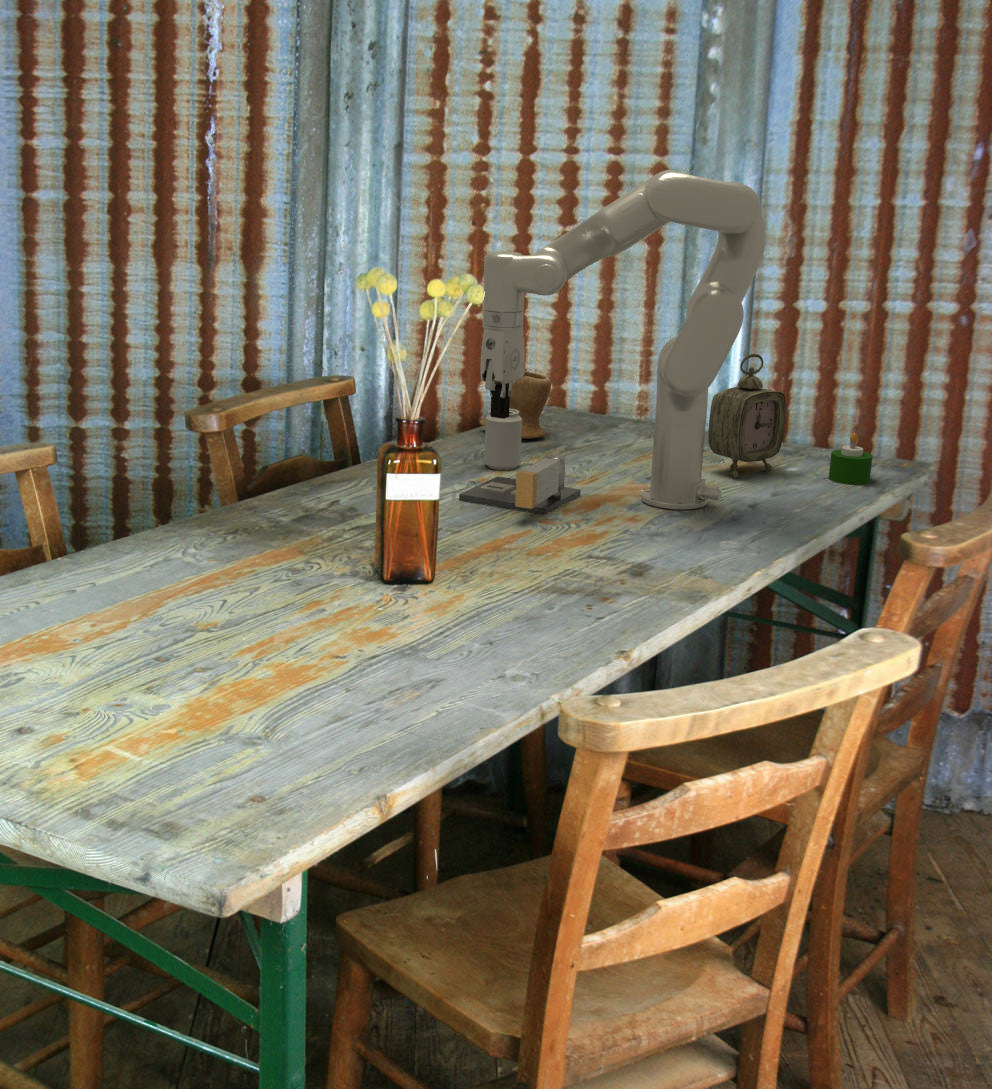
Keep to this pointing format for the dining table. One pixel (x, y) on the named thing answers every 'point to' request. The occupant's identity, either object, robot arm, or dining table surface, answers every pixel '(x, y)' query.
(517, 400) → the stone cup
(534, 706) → the dining table surface
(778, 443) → the tabletop clock
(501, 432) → the can
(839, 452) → the candle
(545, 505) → the dark grey flat slab
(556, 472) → the grey block tan end
